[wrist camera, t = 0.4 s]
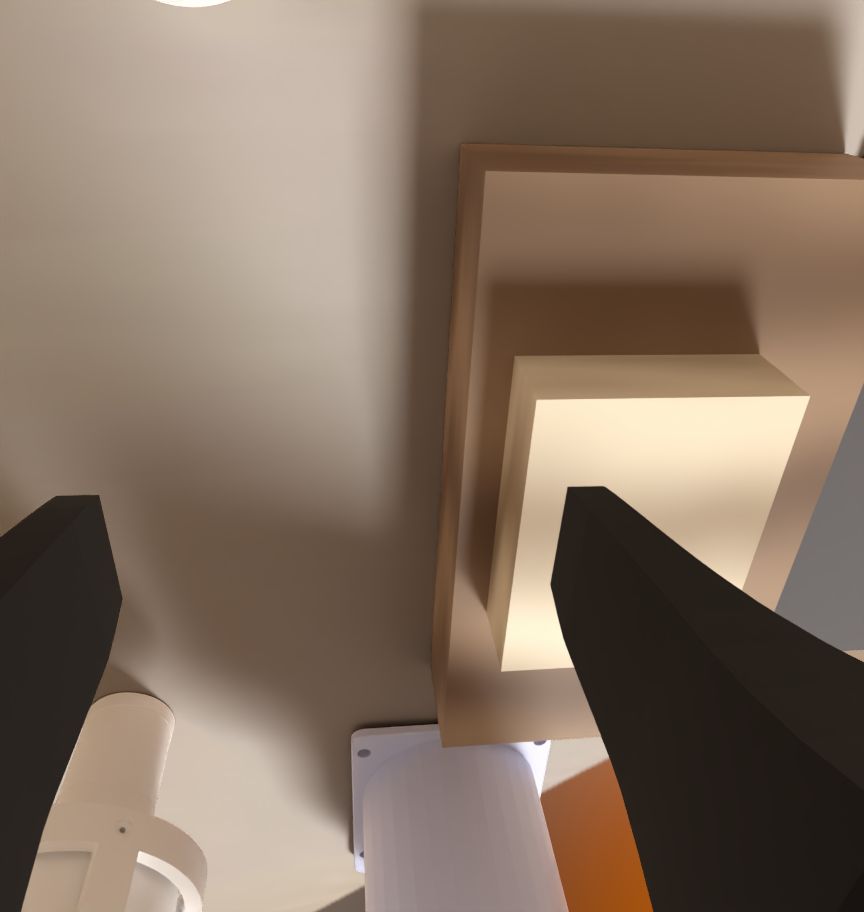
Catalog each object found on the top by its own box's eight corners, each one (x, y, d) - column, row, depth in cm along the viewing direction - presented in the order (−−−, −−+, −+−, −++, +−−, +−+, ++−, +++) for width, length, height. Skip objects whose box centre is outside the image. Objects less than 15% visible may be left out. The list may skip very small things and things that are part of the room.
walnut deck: (687, 651, 28) (728, 728, 25) (430, 666, 27) (441, 747, 24) (846, 153, 19) (942, 181, 16) (460, 143, 17) (485, 171, 14)
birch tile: (685, 602, 22) (717, 658, 20) (486, 612, 21) (500, 671, 19) (759, 354, 17) (810, 395, 15) (514, 356, 17) (536, 400, 15)
